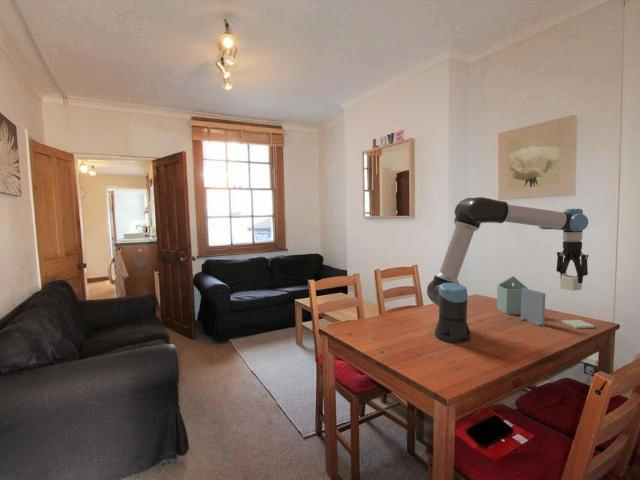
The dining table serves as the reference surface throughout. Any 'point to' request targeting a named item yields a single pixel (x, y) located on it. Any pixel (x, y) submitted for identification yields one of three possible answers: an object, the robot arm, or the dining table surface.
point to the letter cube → (568, 282)
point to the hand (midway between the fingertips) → (571, 288)
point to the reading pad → (578, 324)
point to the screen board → (532, 306)
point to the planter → (509, 296)
